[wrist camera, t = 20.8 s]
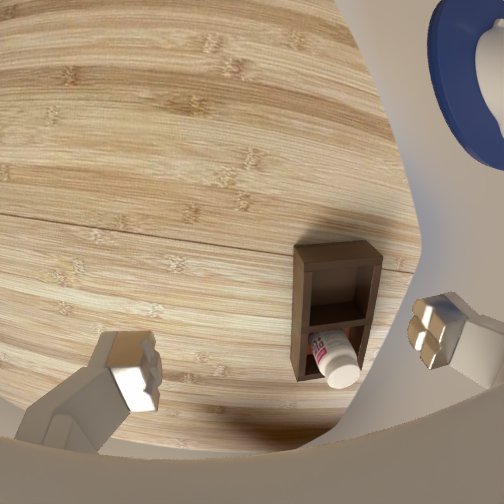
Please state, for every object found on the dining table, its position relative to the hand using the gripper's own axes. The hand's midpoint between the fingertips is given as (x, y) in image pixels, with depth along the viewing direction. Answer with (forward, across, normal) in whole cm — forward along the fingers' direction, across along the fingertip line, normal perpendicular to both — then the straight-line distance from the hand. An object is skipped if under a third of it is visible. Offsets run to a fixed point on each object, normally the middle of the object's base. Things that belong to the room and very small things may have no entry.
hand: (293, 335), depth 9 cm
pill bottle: (+25, -10, +21) cm, 34 cm away
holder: (+25, -10, +17) cm, 32 cm away
